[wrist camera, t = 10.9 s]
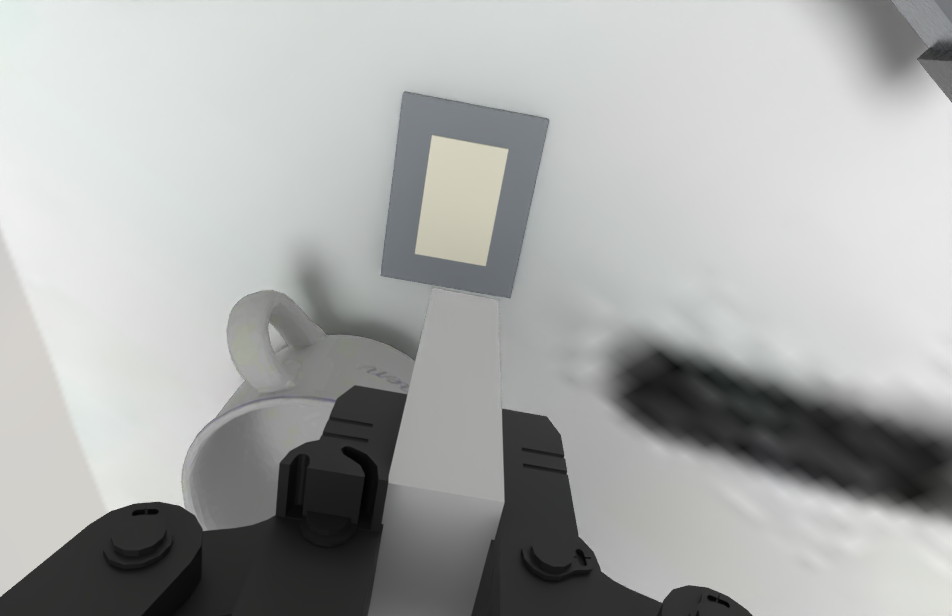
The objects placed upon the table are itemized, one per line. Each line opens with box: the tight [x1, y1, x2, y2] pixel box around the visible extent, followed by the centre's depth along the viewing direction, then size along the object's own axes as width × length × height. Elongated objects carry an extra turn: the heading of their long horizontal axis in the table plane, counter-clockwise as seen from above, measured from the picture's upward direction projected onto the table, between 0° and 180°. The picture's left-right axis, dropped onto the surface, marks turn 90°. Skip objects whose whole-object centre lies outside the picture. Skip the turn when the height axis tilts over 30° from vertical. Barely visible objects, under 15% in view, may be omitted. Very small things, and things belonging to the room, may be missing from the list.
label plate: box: [381, 92, 549, 298], centre depth 27 cm, size 8×6×1 cm
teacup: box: [182, 290, 415, 531], centre depth 27 cm, size 14×11×8 cm
